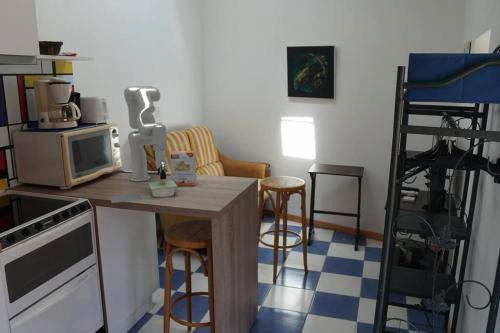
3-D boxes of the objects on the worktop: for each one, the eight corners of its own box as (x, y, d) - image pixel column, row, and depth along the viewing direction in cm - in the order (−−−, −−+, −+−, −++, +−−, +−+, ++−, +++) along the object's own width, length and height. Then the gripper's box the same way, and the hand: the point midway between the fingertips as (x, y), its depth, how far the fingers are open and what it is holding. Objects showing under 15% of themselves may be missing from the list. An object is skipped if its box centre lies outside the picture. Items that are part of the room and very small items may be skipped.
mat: (110, 196, 231) (110, 196, 231) (140, 193, 236) (140, 193, 236) (111, 203, 218) (111, 203, 218) (142, 200, 223) (142, 199, 223)
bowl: (151, 192, 237) (150, 184, 236) (172, 190, 241) (171, 182, 240) (153, 198, 226) (153, 189, 225) (175, 196, 230) (175, 187, 229)
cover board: (148, 184, 237) (147, 172, 235) (173, 181, 241) (172, 170, 240) (151, 190, 224) (150, 177, 222) (177, 187, 228) (176, 175, 227)
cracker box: (171, 186, 251) (169, 152, 247) (174, 183, 257) (172, 150, 252) (194, 186, 250) (192, 152, 245) (196, 184, 255) (195, 150, 251)
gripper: (151, 144, 235) (153, 174, 239) (155, 150, 219) (157, 181, 223) (164, 144, 237) (166, 173, 241) (169, 149, 221) (171, 180, 225)
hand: (161, 177), depth 232 cm, fingers open, 9 cm apart
